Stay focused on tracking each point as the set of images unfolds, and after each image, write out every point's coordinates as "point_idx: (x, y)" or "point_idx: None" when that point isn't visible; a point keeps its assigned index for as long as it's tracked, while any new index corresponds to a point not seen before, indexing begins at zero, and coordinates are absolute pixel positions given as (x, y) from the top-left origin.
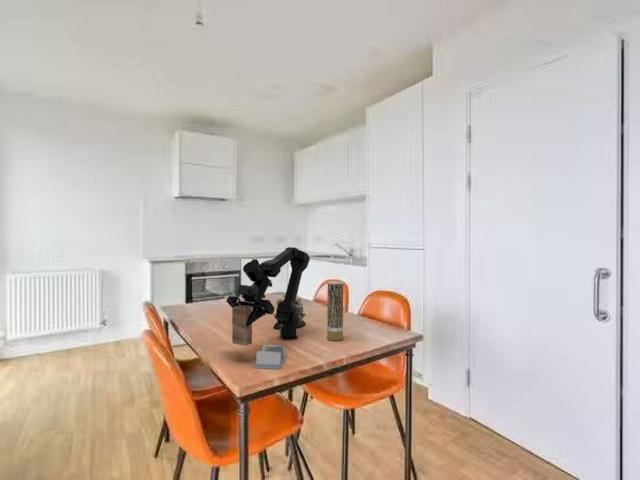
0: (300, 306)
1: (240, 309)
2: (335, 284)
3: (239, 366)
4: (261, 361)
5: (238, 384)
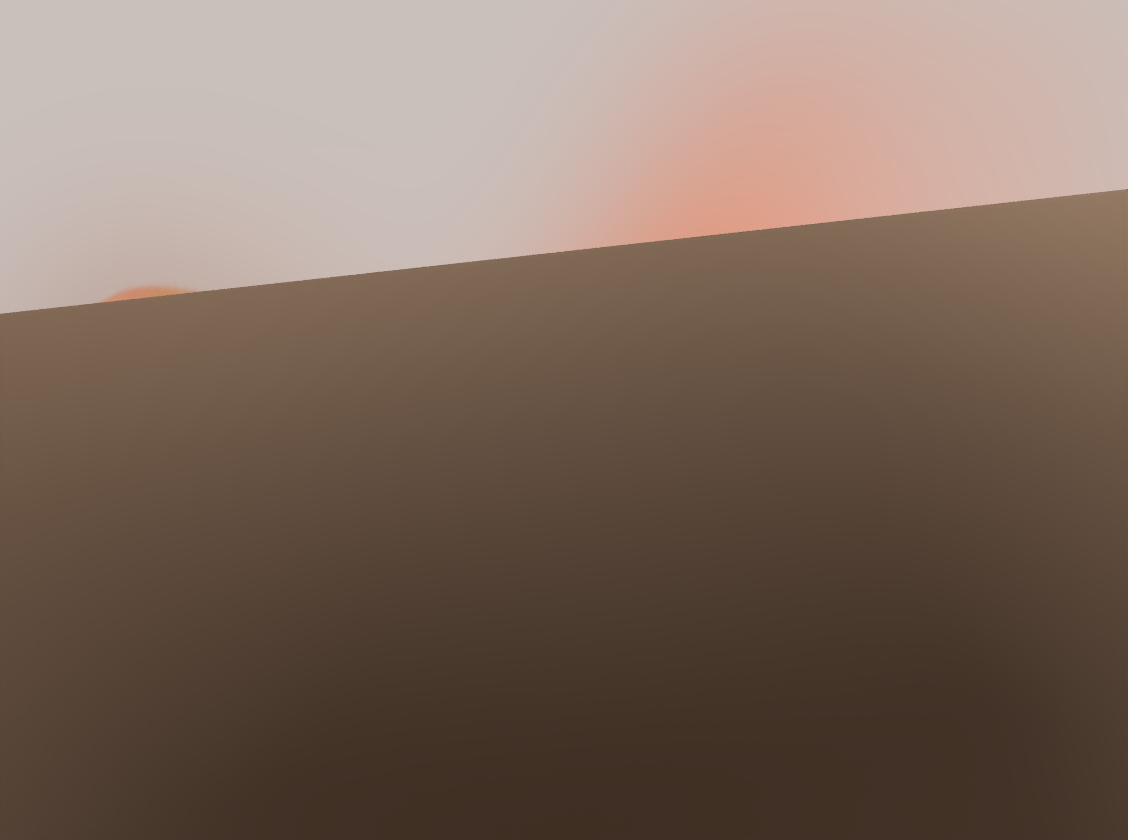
0: None
1: (447, 295)
2: None
3: None
4: None
5: (170, 290)
